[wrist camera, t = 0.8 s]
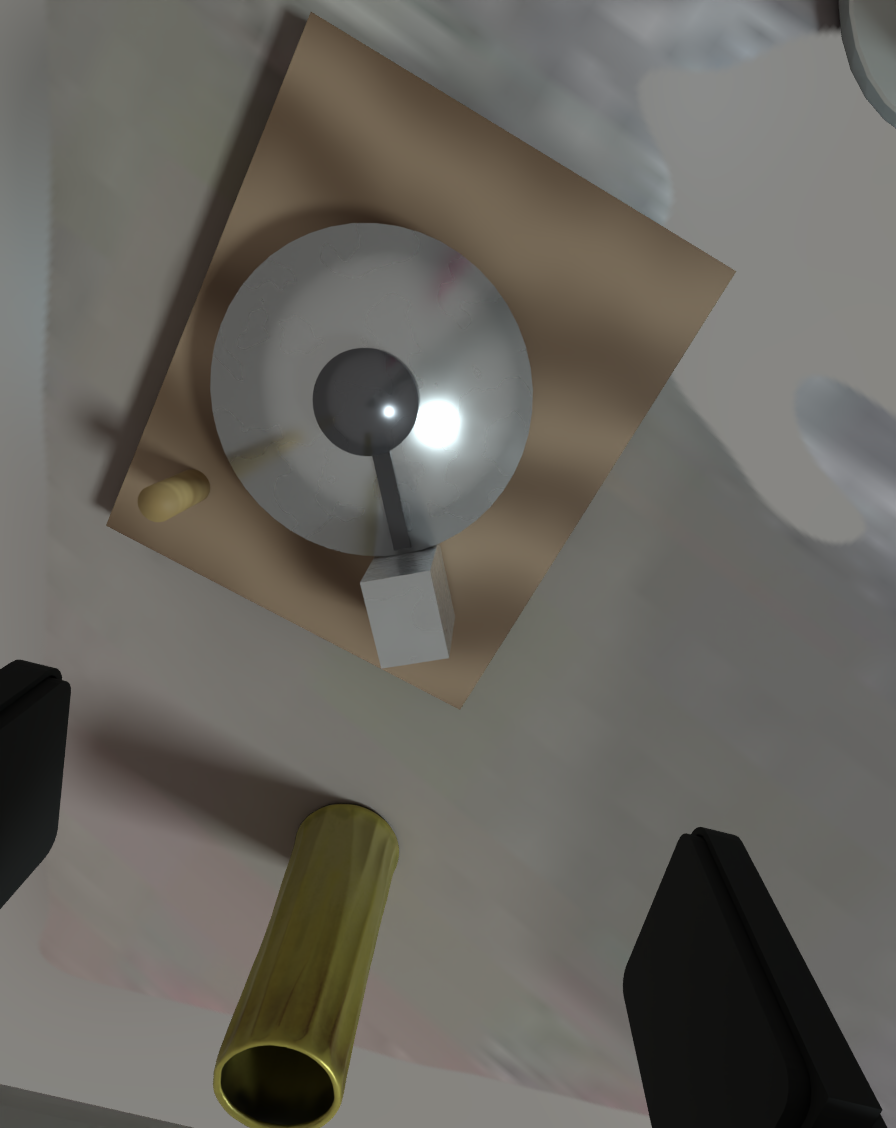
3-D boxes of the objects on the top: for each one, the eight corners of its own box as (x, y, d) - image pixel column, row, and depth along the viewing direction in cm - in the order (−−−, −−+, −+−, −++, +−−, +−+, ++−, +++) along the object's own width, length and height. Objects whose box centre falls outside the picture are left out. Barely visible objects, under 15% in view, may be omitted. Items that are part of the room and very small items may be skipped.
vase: (276, 847, 42) (171, 1089, 28) (339, 782, 40) (259, 1006, 27) (356, 904, 43) (291, 1167, 29) (420, 843, 41) (384, 1091, 27)
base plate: (319, 27, 29) (281, -41, 24) (724, 274, 31) (771, 261, 26) (121, 518, 36) (58, 548, 31) (461, 695, 38) (456, 752, 33)
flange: (183, 268, 31) (129, 255, 26) (501, 193, 29) (502, 166, 24) (291, 643, 36) (261, 687, 31) (566, 598, 34) (577, 637, 29)
